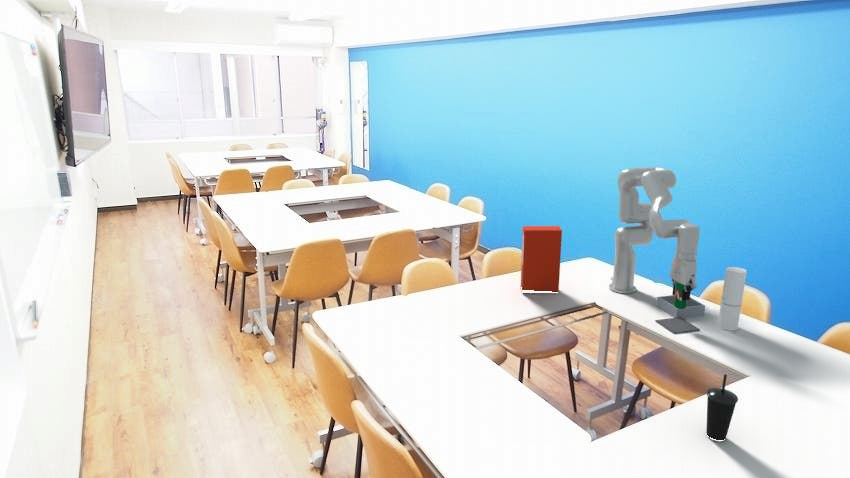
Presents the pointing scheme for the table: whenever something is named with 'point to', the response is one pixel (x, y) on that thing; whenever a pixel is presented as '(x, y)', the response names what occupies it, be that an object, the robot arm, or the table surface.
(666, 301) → the grey bin
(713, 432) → the drinking cup
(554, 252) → the file binder
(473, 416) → the table surface
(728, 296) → the cylindrical container
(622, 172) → the robot arm
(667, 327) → the mat
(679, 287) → the soda can
